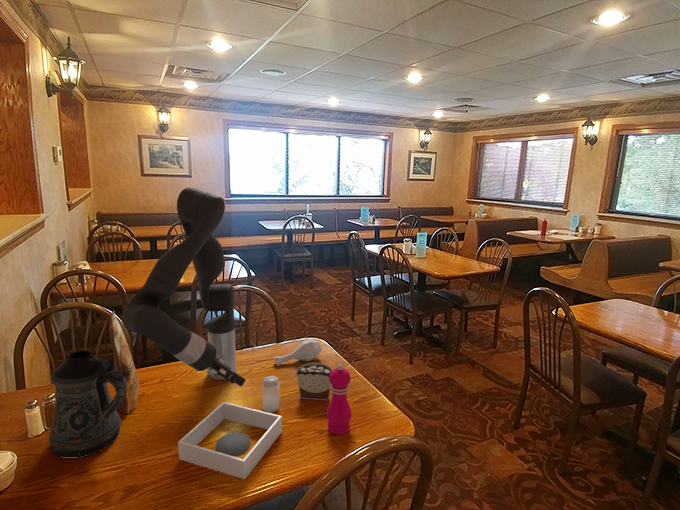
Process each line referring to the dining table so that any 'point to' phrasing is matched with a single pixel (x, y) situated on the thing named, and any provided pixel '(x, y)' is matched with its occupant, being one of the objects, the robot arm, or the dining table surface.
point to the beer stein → (85, 405)
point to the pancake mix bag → (124, 364)
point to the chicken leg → (301, 352)
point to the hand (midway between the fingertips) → (236, 376)
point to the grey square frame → (224, 461)
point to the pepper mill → (339, 402)
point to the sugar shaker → (270, 394)
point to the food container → (314, 381)
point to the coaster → (233, 443)
